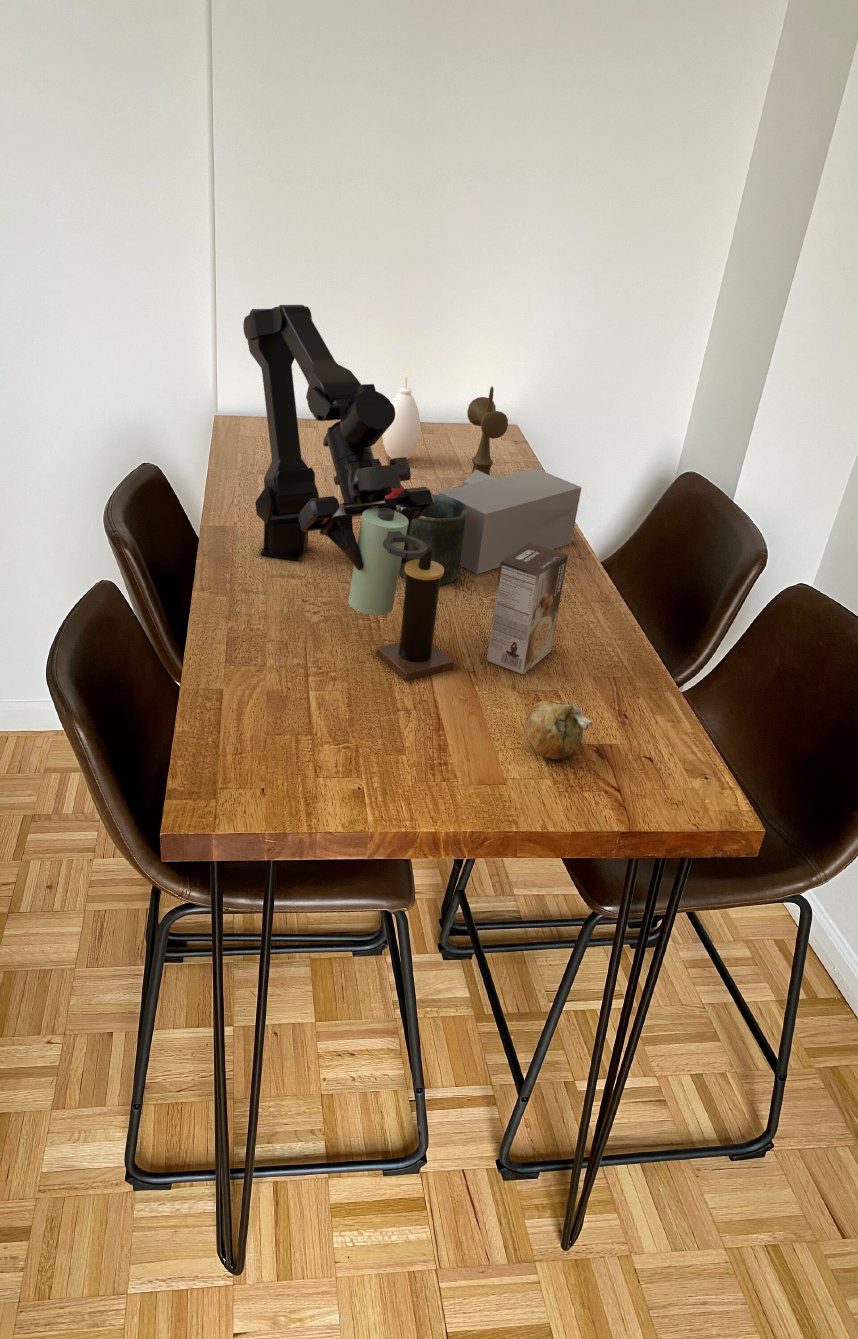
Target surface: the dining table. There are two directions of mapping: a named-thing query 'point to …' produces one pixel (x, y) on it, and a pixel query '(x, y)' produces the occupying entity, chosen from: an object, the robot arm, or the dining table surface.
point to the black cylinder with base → (418, 623)
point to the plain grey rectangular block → (514, 515)
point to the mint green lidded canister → (381, 560)
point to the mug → (441, 535)
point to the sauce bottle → (403, 426)
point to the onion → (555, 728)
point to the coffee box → (526, 607)
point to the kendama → (486, 429)
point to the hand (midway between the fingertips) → (382, 566)
